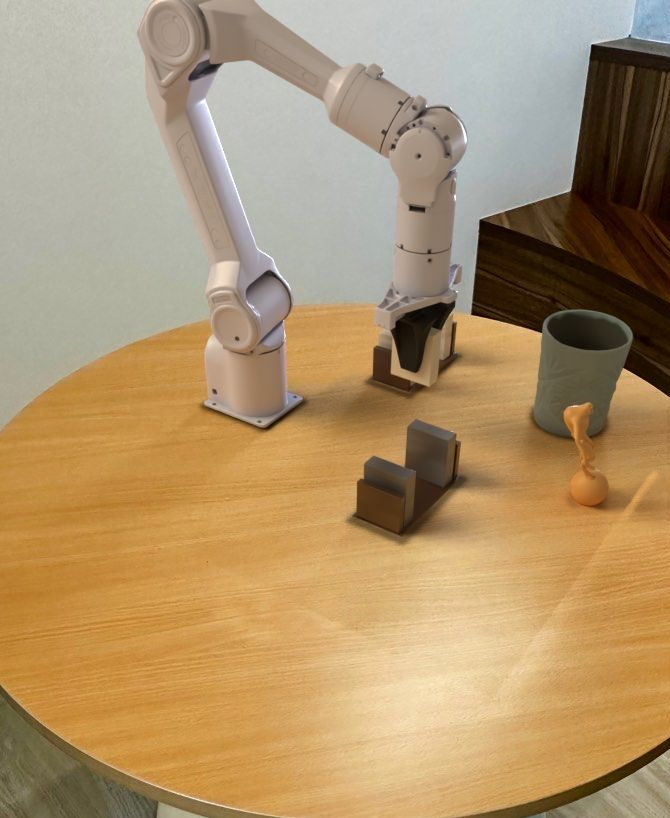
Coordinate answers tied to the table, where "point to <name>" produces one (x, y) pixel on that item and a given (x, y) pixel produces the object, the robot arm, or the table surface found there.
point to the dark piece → (384, 356)
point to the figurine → (585, 459)
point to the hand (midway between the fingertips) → (415, 365)
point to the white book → (429, 362)
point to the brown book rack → (409, 479)
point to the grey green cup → (579, 367)
